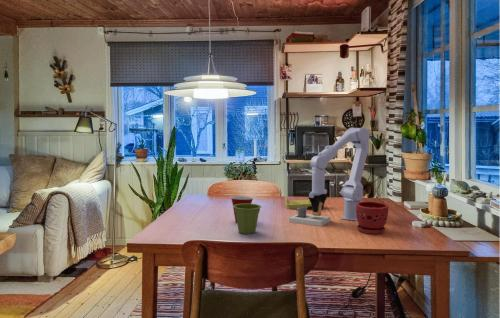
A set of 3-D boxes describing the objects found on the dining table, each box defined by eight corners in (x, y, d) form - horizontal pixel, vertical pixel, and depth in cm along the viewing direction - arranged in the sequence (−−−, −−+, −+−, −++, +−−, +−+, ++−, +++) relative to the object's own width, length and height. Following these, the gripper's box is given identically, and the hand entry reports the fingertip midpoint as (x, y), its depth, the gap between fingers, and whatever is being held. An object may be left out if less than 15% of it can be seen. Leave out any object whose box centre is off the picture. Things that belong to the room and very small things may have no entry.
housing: (330, 221, 201) (330, 216, 200) (321, 226, 190) (321, 221, 190) (299, 217, 209) (299, 213, 209) (288, 222, 199) (288, 217, 198)
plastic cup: (257, 220, 201) (257, 195, 200) (245, 225, 191) (245, 199, 191) (238, 218, 206) (238, 193, 205) (225, 222, 197) (225, 197, 196)
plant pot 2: (349, 231, 181) (350, 203, 180) (365, 226, 190) (366, 200, 189) (377, 237, 172) (378, 208, 171) (393, 231, 181) (394, 204, 180)
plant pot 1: (237, 236, 173) (237, 209, 172) (230, 229, 184) (230, 204, 183) (264, 234, 176) (265, 207, 175) (256, 227, 187) (256, 202, 186)
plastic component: (285, 205, 228) (286, 194, 237) (286, 216, 232) (287, 205, 240) (322, 203, 225) (322, 192, 233) (323, 214, 228) (322, 203, 237)
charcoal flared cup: (308, 220, 202) (308, 207, 202) (304, 222, 198) (304, 209, 198) (299, 219, 205) (299, 206, 204) (295, 221, 201) (295, 208, 200)
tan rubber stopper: (315, 213, 201) (315, 200, 200) (323, 214, 198) (324, 202, 197) (309, 214, 197) (310, 202, 197) (318, 216, 194) (319, 204, 194)
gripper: (319, 184, 188) (318, 214, 189) (332, 180, 200) (332, 209, 201) (305, 183, 192) (304, 212, 193) (319, 179, 204) (318, 207, 205)
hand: (317, 211), depth 197 cm, fingers closed on tan rubber stopper, 5 cm apart
